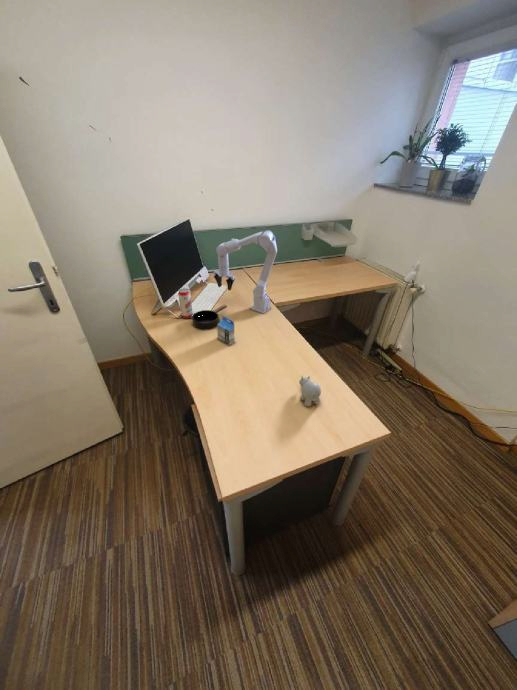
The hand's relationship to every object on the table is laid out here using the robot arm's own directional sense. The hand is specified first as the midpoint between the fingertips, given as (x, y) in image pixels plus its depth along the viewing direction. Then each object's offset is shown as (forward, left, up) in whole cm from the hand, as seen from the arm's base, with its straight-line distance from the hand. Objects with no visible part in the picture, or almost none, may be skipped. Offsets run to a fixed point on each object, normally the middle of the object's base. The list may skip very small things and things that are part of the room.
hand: (224, 288), depth 163 cm
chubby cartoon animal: (-76, +40, -11) cm, 87 cm away
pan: (-6, +19, -10) cm, 22 cm away
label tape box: (-26, +30, -11) cm, 41 cm away
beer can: (+7, +25, -11) cm, 28 cm away
